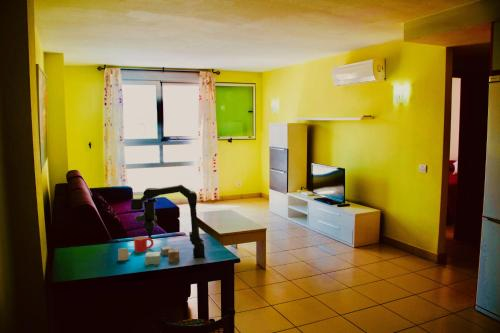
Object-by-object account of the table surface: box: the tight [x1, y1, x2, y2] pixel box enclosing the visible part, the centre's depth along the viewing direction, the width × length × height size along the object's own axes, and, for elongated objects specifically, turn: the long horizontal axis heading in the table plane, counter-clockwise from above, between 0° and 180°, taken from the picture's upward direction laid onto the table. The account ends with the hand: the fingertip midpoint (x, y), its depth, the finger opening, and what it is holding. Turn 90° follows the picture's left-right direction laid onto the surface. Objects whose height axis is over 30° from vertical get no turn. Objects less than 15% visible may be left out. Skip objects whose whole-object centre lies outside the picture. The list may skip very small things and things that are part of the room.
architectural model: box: [117, 247, 132, 261], centre depth 233 cm, size 3×7×7 cm, turn 102°
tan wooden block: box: [160, 245, 174, 257], centre depth 242 cm, size 6×6×4 cm
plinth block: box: [144, 251, 162, 266], centre depth 227 cm, size 8×8×5 cm
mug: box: [133, 236, 154, 253], centre depth 250 cm, size 8×12×8 cm, turn 107°
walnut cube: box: [167, 248, 180, 263], centre depth 230 cm, size 6×6×6 cm
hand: (150, 235), depth 230 cm, fingers open, 9 cm apart
